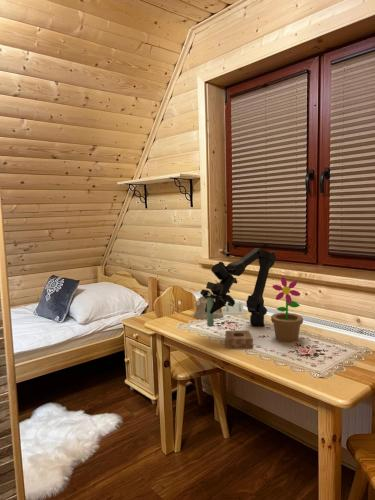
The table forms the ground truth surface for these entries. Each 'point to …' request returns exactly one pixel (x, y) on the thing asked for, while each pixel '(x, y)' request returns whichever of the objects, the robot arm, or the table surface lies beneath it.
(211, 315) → the peg
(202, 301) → the ceramic cottage
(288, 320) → the flowerpot
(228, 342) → the hole block
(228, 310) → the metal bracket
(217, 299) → the robot arm
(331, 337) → the table surface
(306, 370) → the table surface
